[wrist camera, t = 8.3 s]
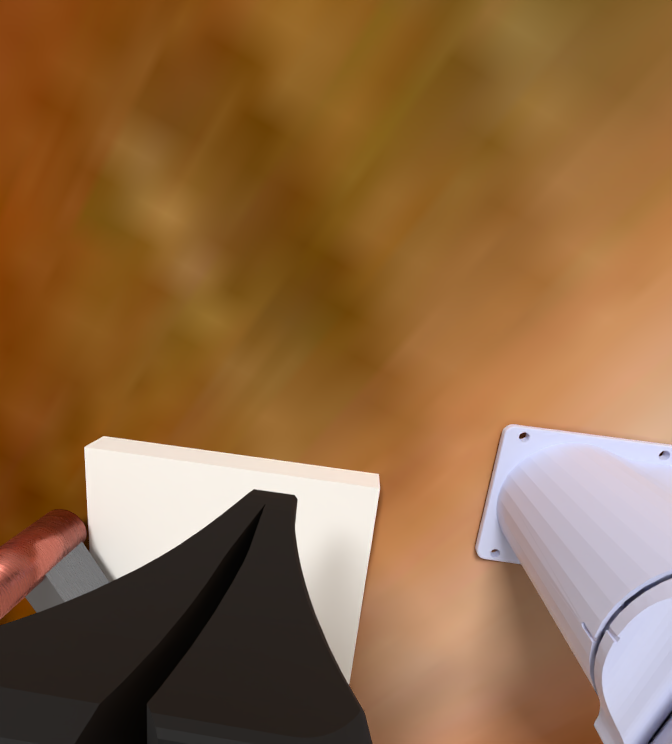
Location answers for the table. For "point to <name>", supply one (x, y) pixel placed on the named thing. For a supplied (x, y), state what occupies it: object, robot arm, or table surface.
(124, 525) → the white flat block
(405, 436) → the table surface
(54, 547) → the lever
